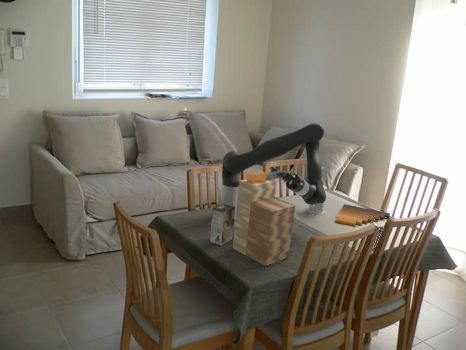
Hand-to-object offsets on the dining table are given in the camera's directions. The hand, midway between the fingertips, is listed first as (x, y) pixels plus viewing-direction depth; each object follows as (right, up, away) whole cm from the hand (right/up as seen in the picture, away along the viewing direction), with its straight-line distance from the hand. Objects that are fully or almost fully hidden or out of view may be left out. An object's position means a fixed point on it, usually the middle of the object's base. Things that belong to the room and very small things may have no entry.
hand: (279, 172), depth 225 cm
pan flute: (+49, -26, +48) cm, 73 cm away
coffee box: (-26, -31, +6) cm, 40 cm away
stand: (-8, -35, -3) cm, 36 cm away
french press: (+24, -21, +53) cm, 62 cm away
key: (-5, -3, -4) cm, 7 cm away
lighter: (+46, -35, +15) cm, 60 cm away
